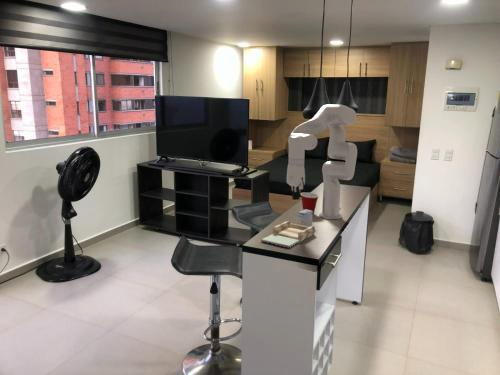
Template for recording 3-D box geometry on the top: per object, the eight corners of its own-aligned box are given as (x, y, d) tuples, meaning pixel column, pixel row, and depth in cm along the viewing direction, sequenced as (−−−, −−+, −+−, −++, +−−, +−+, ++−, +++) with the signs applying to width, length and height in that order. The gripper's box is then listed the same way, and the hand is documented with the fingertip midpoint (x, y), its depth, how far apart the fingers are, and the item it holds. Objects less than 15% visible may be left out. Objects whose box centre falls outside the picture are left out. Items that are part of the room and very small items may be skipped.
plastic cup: (318, 217, 230) (319, 196, 228) (298, 216, 232) (299, 195, 230) (318, 212, 241) (319, 192, 238) (300, 211, 243) (301, 191, 240)
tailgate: (272, 233, 197) (260, 239, 189) (300, 239, 189) (288, 246, 180) (272, 236, 197) (260, 241, 189) (300, 242, 189) (288, 248, 180)
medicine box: (305, 225, 216) (305, 209, 214) (312, 226, 213) (313, 210, 212) (296, 228, 210) (297, 212, 208) (304, 230, 207) (304, 213, 206)
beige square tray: (287, 229, 209) (287, 220, 208) (314, 234, 200) (314, 225, 199) (272, 236, 197) (272, 227, 197) (300, 242, 189) (300, 233, 188)
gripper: (281, 160, 199) (281, 196, 203) (298, 165, 186) (297, 203, 190) (294, 159, 202) (294, 195, 207) (311, 163, 189) (310, 202, 193)
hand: (295, 199), depth 198 cm, fingers closed
